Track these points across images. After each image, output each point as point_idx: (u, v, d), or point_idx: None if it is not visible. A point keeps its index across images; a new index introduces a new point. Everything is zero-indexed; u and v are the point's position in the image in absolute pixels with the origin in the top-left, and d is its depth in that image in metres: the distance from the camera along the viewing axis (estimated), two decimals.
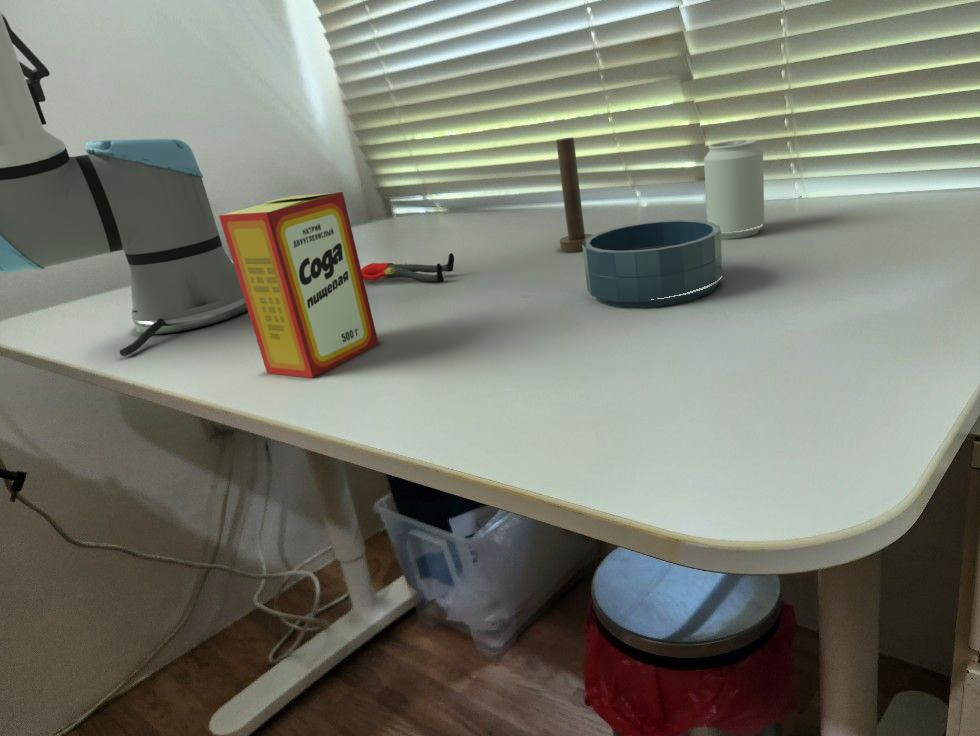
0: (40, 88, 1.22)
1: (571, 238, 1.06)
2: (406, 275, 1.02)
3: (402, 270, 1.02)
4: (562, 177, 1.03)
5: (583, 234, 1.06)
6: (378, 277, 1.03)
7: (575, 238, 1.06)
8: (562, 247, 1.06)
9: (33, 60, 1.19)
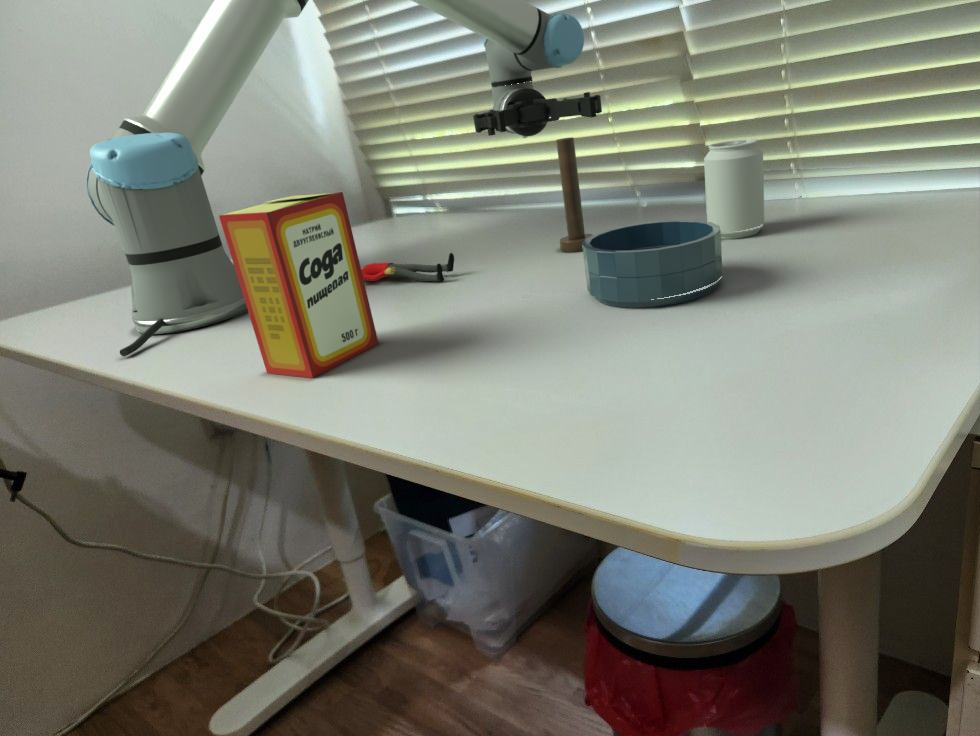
0: None
1: (571, 238, 1.06)
2: (406, 275, 1.02)
3: (402, 270, 1.02)
4: (562, 177, 1.03)
5: (583, 234, 1.06)
6: (378, 277, 1.03)
7: (575, 238, 1.06)
8: (562, 247, 1.06)
9: None
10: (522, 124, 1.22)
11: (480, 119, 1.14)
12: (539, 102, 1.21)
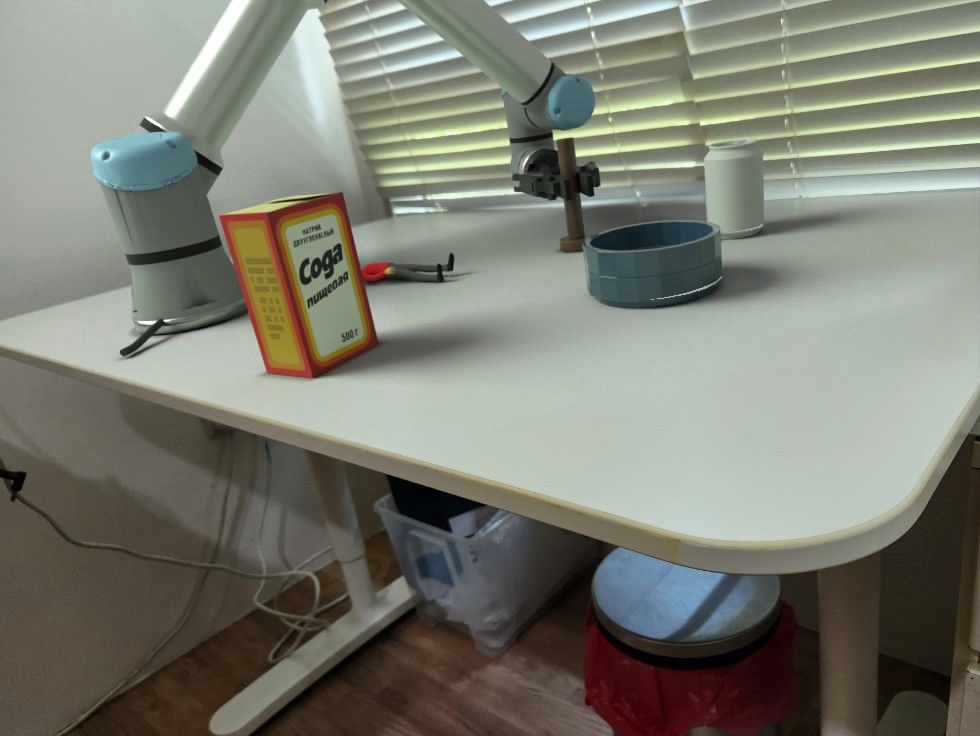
0: None
1: (571, 238, 1.06)
2: (406, 275, 1.02)
3: (402, 270, 1.02)
4: None
5: (583, 234, 1.06)
6: (378, 277, 1.03)
7: (575, 238, 1.06)
8: (562, 247, 1.06)
9: (592, 167, 1.08)
10: None
11: (540, 183, 1.05)
12: None
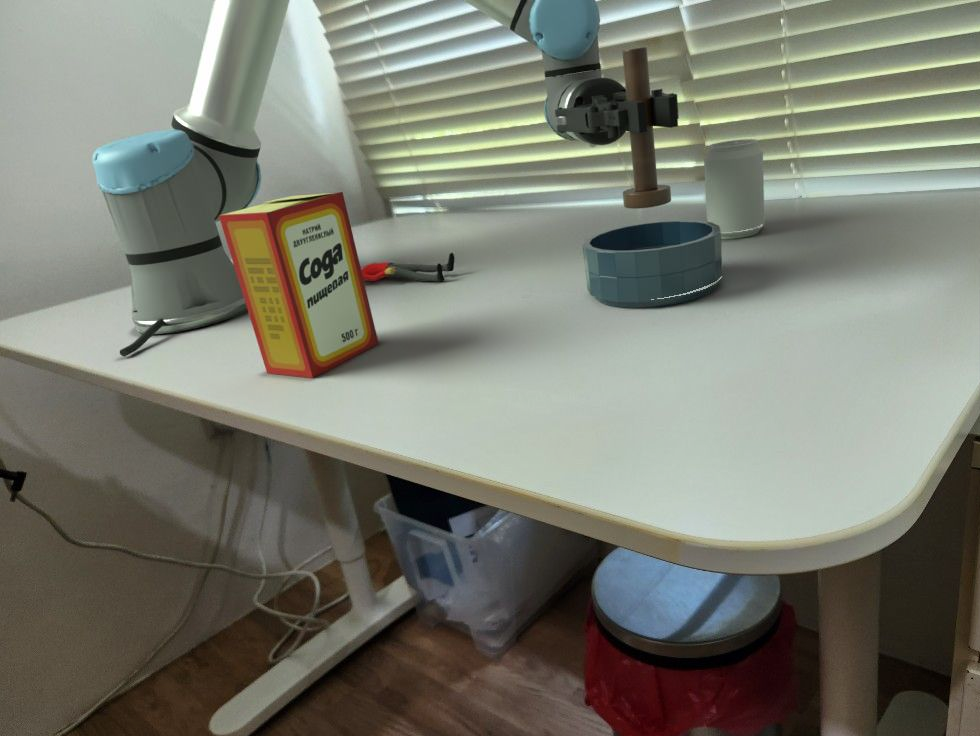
0: None
1: (639, 189, 0.78)
2: (406, 275, 1.02)
3: (402, 270, 1.02)
4: None
5: (656, 184, 0.78)
6: (378, 277, 1.03)
7: (645, 189, 0.78)
8: (627, 202, 0.78)
9: (666, 94, 0.80)
10: None
11: (598, 113, 0.77)
12: None
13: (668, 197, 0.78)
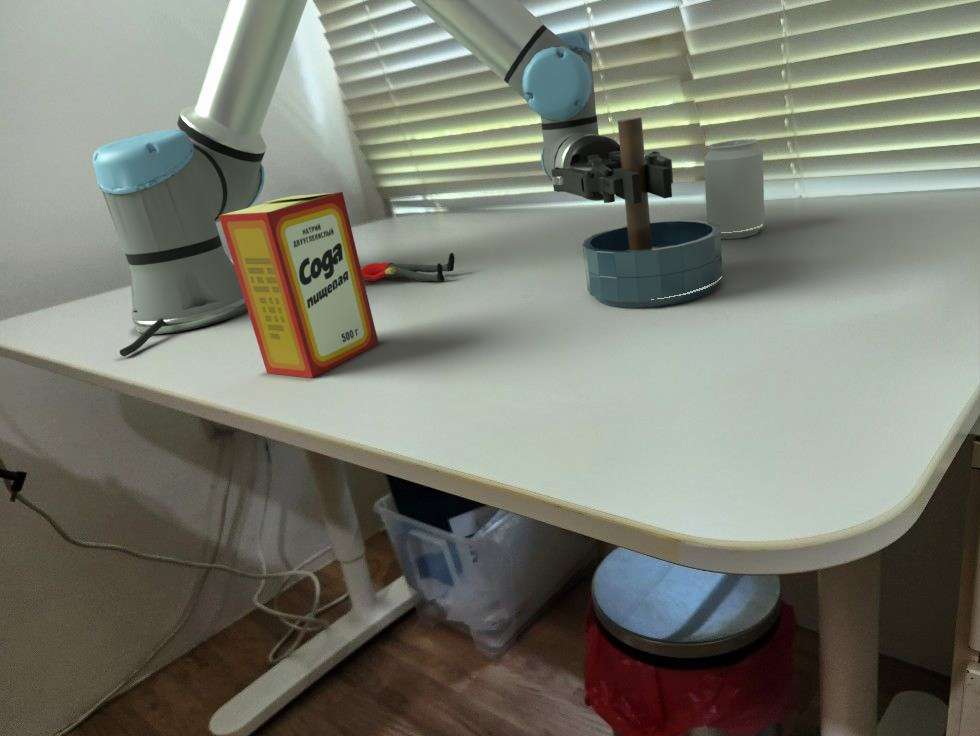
0: None
1: None
2: (406, 275, 1.02)
3: (402, 270, 1.02)
4: None
5: (650, 248, 0.79)
6: (378, 277, 1.03)
7: None
8: None
9: (660, 158, 0.81)
10: None
11: (594, 179, 0.78)
12: None
13: None
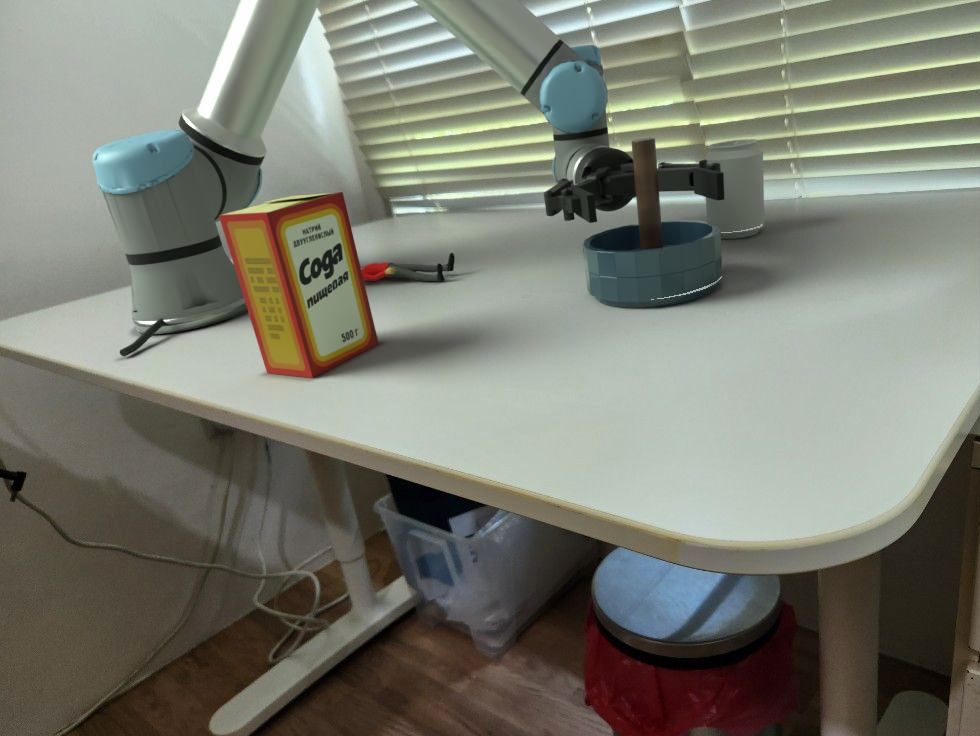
0: None
1: None
2: (406, 275, 1.02)
3: (402, 270, 1.02)
4: (638, 190, 0.78)
5: None
6: (378, 277, 1.03)
7: None
8: None
9: (699, 164, 0.85)
10: (606, 199, 0.88)
11: (554, 198, 0.81)
12: (630, 169, 0.88)
13: None
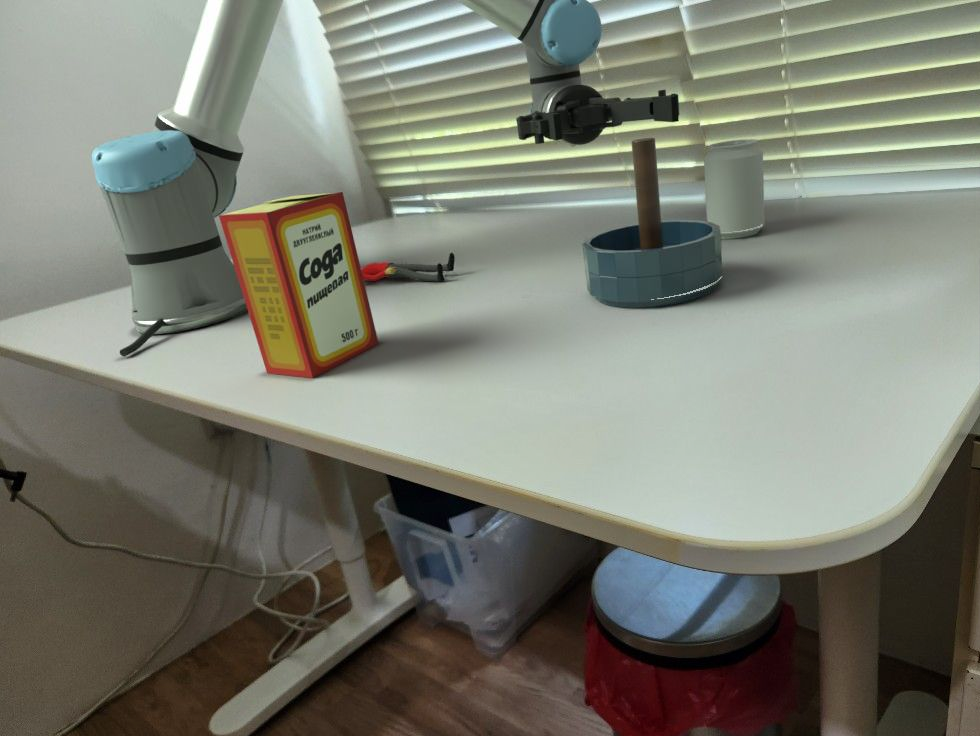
0: None
1: None
2: (406, 275, 1.02)
3: (402, 270, 1.02)
4: (638, 190, 0.78)
5: None
6: (378, 277, 1.03)
7: None
8: None
9: None
10: (575, 130, 0.96)
11: (525, 123, 0.89)
12: (597, 102, 0.96)
13: None
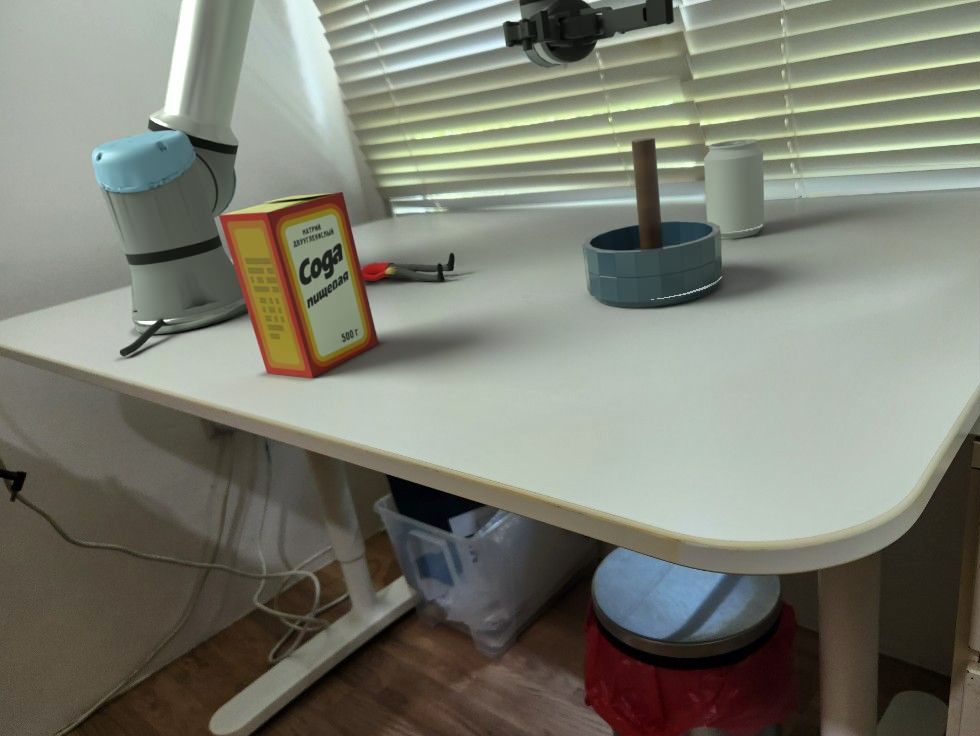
0: None
1: None
2: (406, 275, 1.02)
3: (403, 270, 1.02)
4: (638, 190, 0.78)
5: None
6: (379, 277, 1.03)
7: None
8: None
9: None
10: (565, 42, 0.92)
11: (512, 28, 0.85)
12: (588, 12, 0.92)
13: None
